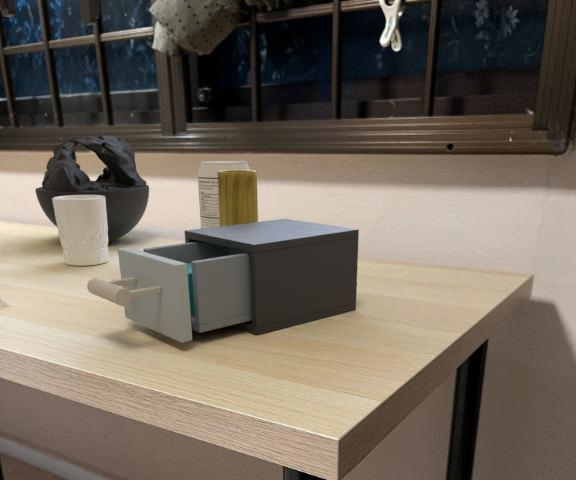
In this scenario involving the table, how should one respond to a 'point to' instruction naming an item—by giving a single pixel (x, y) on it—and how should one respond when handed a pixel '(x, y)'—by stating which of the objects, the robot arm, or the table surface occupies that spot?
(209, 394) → the table surface
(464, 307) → the table surface
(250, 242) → the grey drawer cabinet
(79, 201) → the white cup
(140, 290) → the pulled-out drawer
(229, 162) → the supplement can
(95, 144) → the bowl of black rocks
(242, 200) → the vase
